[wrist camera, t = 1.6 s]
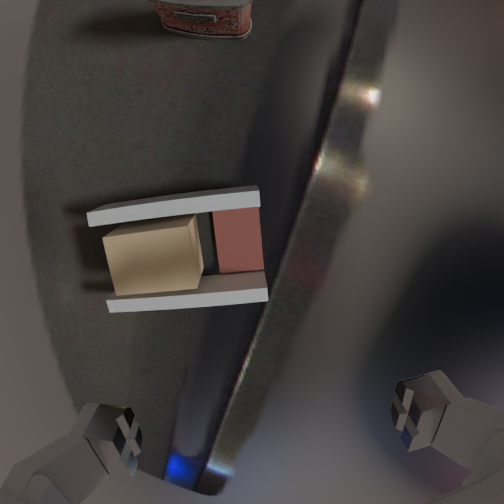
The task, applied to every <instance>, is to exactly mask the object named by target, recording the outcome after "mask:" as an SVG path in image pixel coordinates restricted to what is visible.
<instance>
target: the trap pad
mask: <svg viewBox="0 0 504 504" xmlns="http://www.w3.org/2000/svg"><path fill="white" fill-rule="evenodd" d="M212 213H213V221H214V230H215V238H216V246H217V253H218V261H219V269H220V273H231V272H241V271H252V270H262V269H264V265H263V254H262V241H261V230H260V218H259V207H249V208H239V209H229V210H219V211H212Z"/></svg>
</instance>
